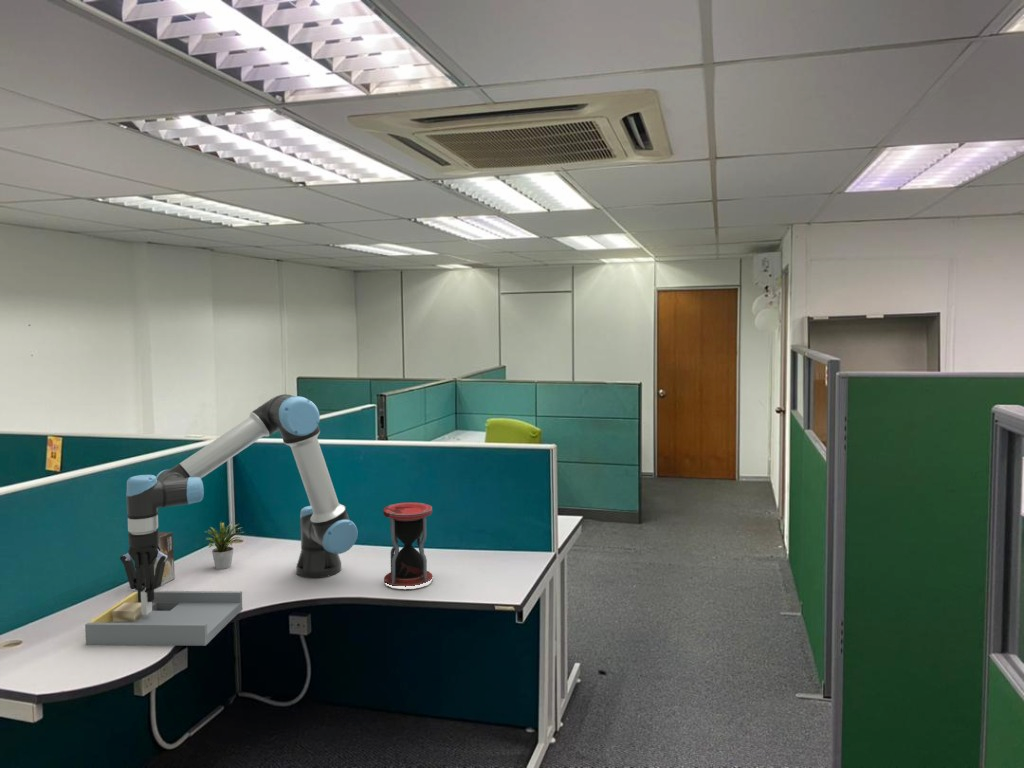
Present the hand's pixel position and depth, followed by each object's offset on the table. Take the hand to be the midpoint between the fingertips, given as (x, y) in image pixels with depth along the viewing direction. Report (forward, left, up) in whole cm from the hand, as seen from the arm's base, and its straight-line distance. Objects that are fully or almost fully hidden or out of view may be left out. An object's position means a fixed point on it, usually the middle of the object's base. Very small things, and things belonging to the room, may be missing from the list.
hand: (146, 612), depth 194 cm
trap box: (-6, 0, -4) cm, 7 cm away
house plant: (0, -48, -4) cm, 48 cm away
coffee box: (+15, -33, -4) cm, 36 cm away
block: (+5, 0, -1) cm, 5 cm away
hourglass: (-68, -36, -4) cm, 77 cm away
